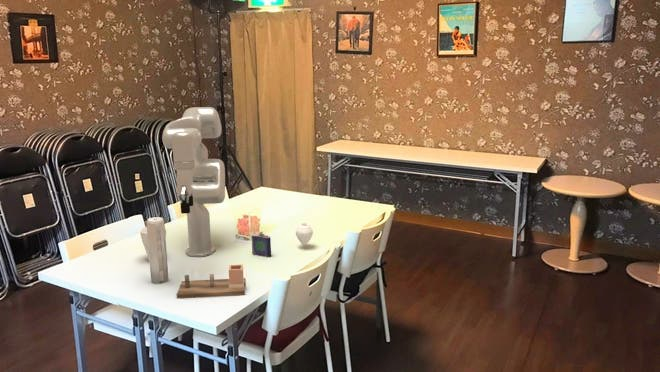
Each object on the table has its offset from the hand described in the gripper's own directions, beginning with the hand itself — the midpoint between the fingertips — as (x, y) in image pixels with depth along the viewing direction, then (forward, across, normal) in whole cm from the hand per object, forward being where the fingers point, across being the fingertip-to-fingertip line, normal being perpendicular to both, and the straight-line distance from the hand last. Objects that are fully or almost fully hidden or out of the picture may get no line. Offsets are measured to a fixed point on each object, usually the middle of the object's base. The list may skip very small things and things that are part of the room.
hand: (187, 209), depth 208 cm
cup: (+28, -23, -18) cm, 41 cm away
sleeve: (+27, +11, +18) cm, 34 cm away
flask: (+29, -23, +27) cm, 45 cm away
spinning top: (+28, -30, +46) cm, 62 cm away
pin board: (+28, +11, +9) cm, 32 cm away
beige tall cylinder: (+28, 0, -12) cm, 31 cm away
